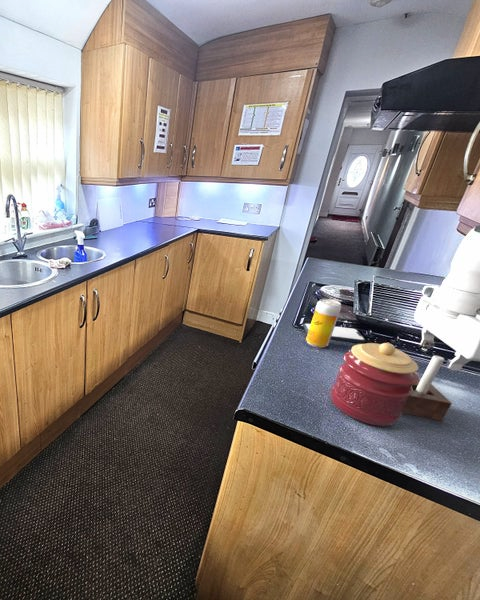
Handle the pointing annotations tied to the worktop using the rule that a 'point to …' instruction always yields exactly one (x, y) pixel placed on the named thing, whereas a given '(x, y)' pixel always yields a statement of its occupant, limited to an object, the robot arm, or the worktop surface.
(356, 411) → the kitchen canister
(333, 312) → the pint of beer
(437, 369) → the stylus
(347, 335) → the phone case
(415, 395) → the pen stand
